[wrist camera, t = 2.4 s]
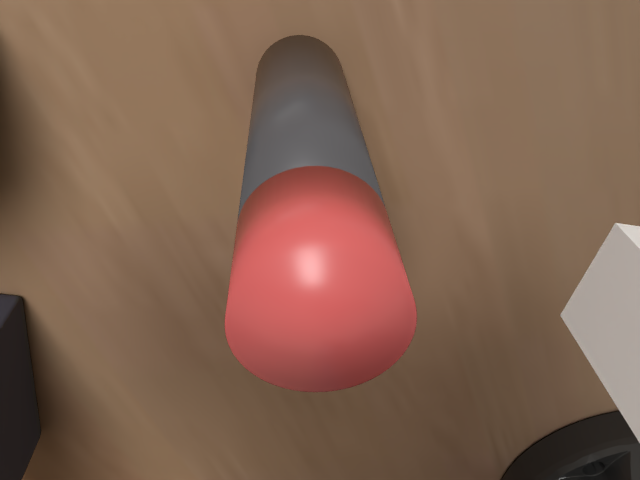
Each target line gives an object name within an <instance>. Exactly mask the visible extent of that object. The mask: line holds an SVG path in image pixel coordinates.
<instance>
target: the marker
mask: <svg viewBox="0 0 640 480" xmlns="http://www.w3.org/2000/svg"><path fill="white" fill-rule="evenodd" d="M416 322H417V310H416V305H415V301H414V298H413V294H412V291H411V288H410V285H409V282H408V278H407V275H406V272H405V269H404V266H403V262H402V259H401V256H400V253H399V250H398V246H397V243H396V240H395V237H394V234H393V230H392V227H391V224H390V221H389V218H388V214H387V211H386V208H385V205H384V202H383V198H382V195H381V192H380V189H379V185H378V182H377V179H376V176H375V173H374V169H373V166H372V163H371V160H370V157H369V153H368V150H367V147H366V144H365V141H364V137H363V134H362V131H361V128H360V125H359V121H358V118H357V115H356V112H355V109H354V105H353V102H352V99H351V96H350V93H349V89H348V86H347V83H346V80H345V77H344V73H343V70H342V67H341V64H340V62H339V59H338V58H337V56H336V54H335V53H334V52H333V50H332V49H331V48H330V47H329V46H328V45H326V44H325V43H324V42H322V41H320V40H318V39H316V38H314V37H310V36H304V35H295V36H289V37H286V38H283V39H281V40H279V41H277V42H276V43H274V44H273V45H272V46H270V47H269V48H268V49H267V51H266V52H265V53H264V55H263V56H262V58H261V60H260V62H259V65H258V68H257V74H256V82H255V89H254V97H253V105H252V113H251V121H250V128H249V136H248V144H247V152H246V159H245V167H244V175H243V183H242V191H241V198H240V206H239V214H238V222H237V230H236V237H235V245H234V253H233V261H232V269H231V276H230V284H229V292H228V300H227V307H226V315H225V332H226V338H227V341H228V344H229V346H230V348H231V350H232V352H233V354H234V355H235V357H236V358H237V359H238V361H239V362H240V363H241V364H242V365H243V366H244V367H245V368H246V369H247V370H249V371H250V372H251V373H252V374H254V375H255V376H257V377H259V378H260V379H262V380H264V381H266V382H268V383H271V384H273V385H276V386H279V387H282V388H286V389H290V390H296V391H303V392H328V391H335V390H341V389H345V388H350V387H353V386H356V385H359V384H362V383H364V382H366V381H369V380H371V379H373V378H374V377H376V376H378V375H380V374H381V373H383V372H384V371H386V370H387V369H389V368H390V367H391V366H392V365H393V364H394V363H395V362H397V360H398V359H399V358H400V357H401V356H402V355H403V354H404V352H405V351H406V349H407V348H408V346H409V344H410V342H411V340H412V338H413V335H414V332H415V329H416Z"/></svg>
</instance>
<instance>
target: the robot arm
mask: <svg viewBox="0 0 640 480" xmlns="http://www.w3.org/2000/svg"><path fill="white" fill-rule="evenodd" d="M560 316H561V317H562V319H563V321H564V322H565V324H566V325H567V327H568V329H569V330H570V332H571V333H572V335H573V337H574V338H575V340H576V341H577V343H578V345H579V346H580V348H581V349H582V351H583V353H584V354H585V356H586V358H587V359H588V361H589V362H590V364H591V366H592V367H593V369H594V370H595V372H596V374H597V375H598V377H599V378H600V380H601V382H602V383H603V385H604V387H605V388H606V390H607V391H608V393H609V395H610V396H611V398H612V399H613V401H614V403H615V404H616V406H617V407H618V409H619V412H614V413H609V414H604V415H600V416H596V417H593V418H590V419H586V420H583V421H581V422H578V423H575V424H573V425H570V426H568V427H565V428H563V429H561V430H559V431H557V432H555V433H553V434H551V435H549V436H548V437H546V438H544V439H542V440H541V441H539V442H538V443H536V444H535V445H533V446H532V447H531V448H529V449H528V450H527V451H526V452H524V453H523V454H522V455H521V456H520V457H519V458H518V459H517V460H516V461H515V462H514V463H513V464H512V465H511V467H510V468H509V469H508V471H507V472H506V474H505V475H504V477H503V479H502V480H640V226H633V225H626V224H619V223H615V224H614V226H613V228H612V229H611V231H610V233H609V234H608V236H607V238H606V239H605V241H604V243H603V244H602V246H601V248H600V250H599V251H598V253H597V255H596V256H595V258H594V260H593V261H592V263H591V265H590V266H589V268H588V270H587V271H586V273H585V275H584V276H583V278H582V280H581V281H580V283H579V285H578V286H577V288H576V290H575V291H574V293H573V295H572V296H571V298H570V300H569V301H568V303H567V305H566V306H565V308H564V310H563V311H562V313H561V315H560Z"/></svg>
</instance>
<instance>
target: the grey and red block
mask: <svg viewBox="0 0 640 480" xmlns="http://www.w3.org/2000/svg"><path fill="white" fill-rule="evenodd" d="M40 434H41V429H40V421H39V414H38V407H37V400H36V393H35V386H34V379H33V371H32V364H31V357H30V350H29V343H28V336H27V329H26V321H25V314H24V307H23V301H22V298H21V297H20V296H14V295H5V294H0V480H22V477H23V475H24V473H25V471H26V468H27V466H28V464H29V461H30V459H31V457H32V454H33V452H34V450H35V447H36V445H37V443H38V440H39V438H40Z"/></svg>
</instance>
